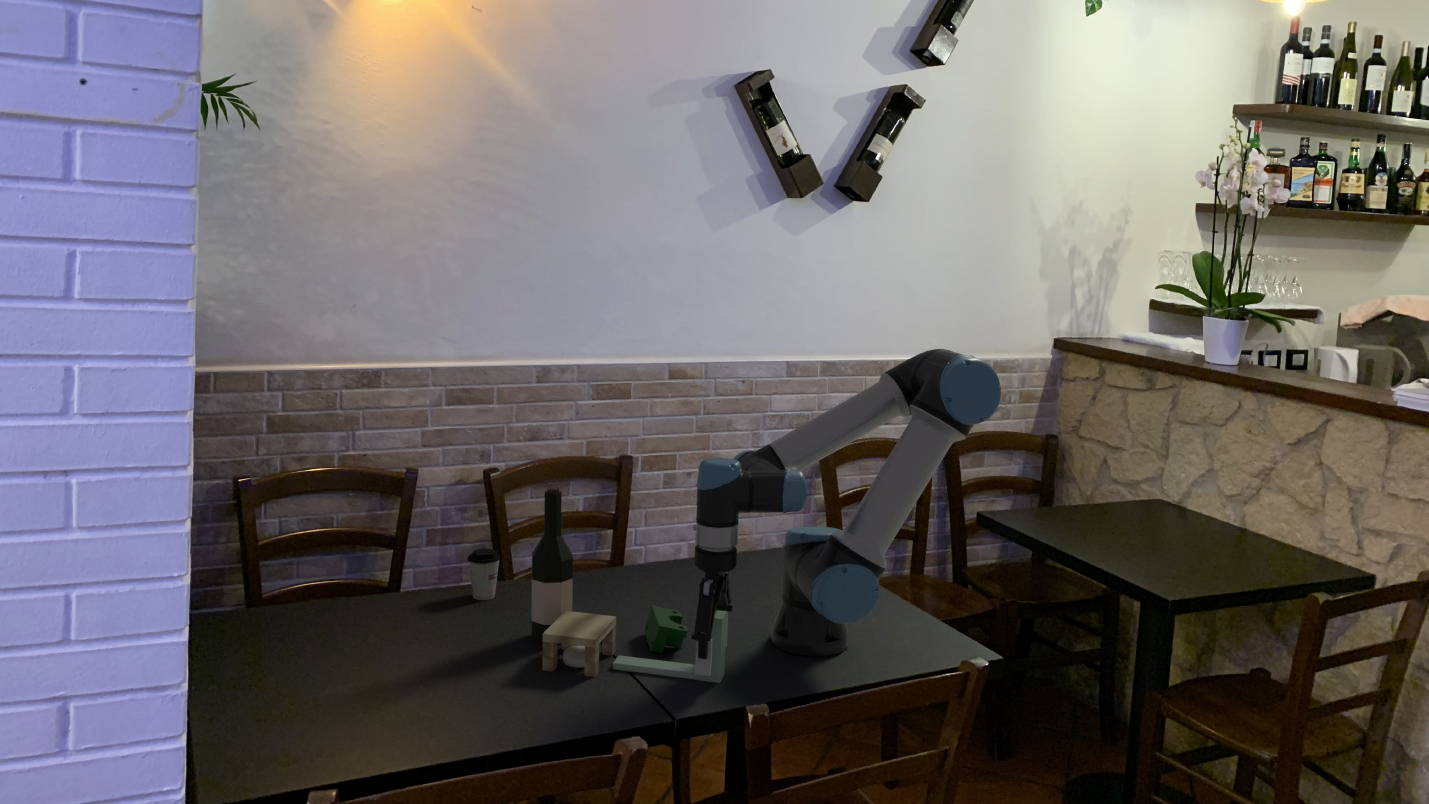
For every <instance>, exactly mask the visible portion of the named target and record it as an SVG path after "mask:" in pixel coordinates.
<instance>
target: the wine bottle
mask: <svg viewBox="0 0 1429 804" xmlns="http://www.w3.org/2000/svg"><path fill="white" fill-rule="evenodd" d="M543 509H544V512H543V513H544V515H543V516H544V517H543V518H544V520H543V522H544V524H543V525H544V526H543V528H544V529H543V530H544V531H543V535H542V537H540V540H539V542H538V543H537V544H536V546H535V548H534V549H533V551H532V553H531V625H530V626H531V634H530V635H531V636H530V637H531V642H532V643H534V644H537V645H541V646H543V633H544V632H545V631H546V630H547V629H548V628H549V627H550V626H551V625H552V624H553V623H554V622H555V621H556V620H557V619H558V618H559V617H560V616H561V615H562V614H563V613H564V612H565V611H572V612H573V587H574V585H573V581H574V580H573V579H574V575H573V574H574V570H573V569H574V566H573V565H574V556H573V551H572V550H571V549H570V547H569V545H568V544H567V542H566V540H565V538H564V537H563V535H562V491H561V490H560V487H557V486H549V487H546V491H544V508H543ZM560 645H561V646H562V644H560V643H557V646H560Z"/></svg>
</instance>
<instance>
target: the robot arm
mask: <svg viewBox="0 0 1429 804" xmlns="http://www.w3.org/2000/svg"><path fill="white" fill-rule="evenodd" d="M1001 398H1002V386H1001V382H1000V378H999V376H998V374H997V372H996V371H995V369H994V368H993V367H992V366H991V365H990V364H988V363H987V362H986V361H984V360H982V359H980V358H977V357H975V356H973V355H970V354H964V353H963V354H962V353H959V352H956V351H952V350H949V349H944V348H934V349H930V350H929V349H928V350H925V351H923V352H920V353H918V354H916V355H914V356H912V357H910V358H908V359H906V360H905V361H902V362H900V363H898V364H897V365H896V366H894V367H892V368H891V369H889V370H886V371H885V372H883V373H882V374H880V377H879V381H878V382H876V383H874V384H873V385H871V386H869V387H867V388H865V389H864V390H862V391H860V392H858V393H857V394H855V395H853V396H851V397H849V398H848V399H845V400H844V401H843V402H840V403H839V404H837V405H835V406H833V407H832V408H830V409H828V410H826V411H825V412H823V413H821V414H819V415H818V416H816V417H815V418H813V419H810V420H809V421H807V422H806V423H803V424H802V425H800V426H798V427H797V428H795V429H793V430H791V431H789V432H788V433H786V434H784V435H782V436H781V437H779V438H777V439H775V440H774V441H772V442H770V443H769V444H766V445H764V446H762V447H760V448H759V449H757V450H756V451H755V450H743V451H741V452H739V453H738V454H736V455H735V456H734V458H728V457H709V458H705V459H703V460H701V462H700V463H699V464H698V465H699V466H698V473H697V480H696V515H695V516H696V517H695V518H696V520H695V521H696V522H695V524H694V525H692V530H693V531H695V539H694V540H695V542H694V543H695V544H696V546H694V557H693V558H694V560H693V561H694V562H693V563H694V566H695V568H696V569H698V570H700V571H703V572H704V573H705V574H704V577H702V579H701V581H700V582H699V586H698V587H699V592H698V602H697V609H696V617H695V625H694V631H693V634H691V639H692V640H694V641H695V664H694V665H695V674H698V675H706V676H710V675H711V663H712V639H711V634H712V629H713V623H714V617H715V612H716V610H720V611H727V618H726V644H725V648H727V647H728V644H727V643H728V622H729V612H731V613H732V612H733V607H734V606H733V605H731V603H732V598H731V584H730V572H731V571H733V570H734V569H735V568H736V567H737V560H738V559H737V558H738V548H737V547H736V546H737V545H738V543H739V518H740V514H744V513H745V514H749V513H750V514H751V513H752V514H754V513H755V514H756V513H758V514H760V513H762V514H763V513H764V514H766V513H771V514H772V513H775V514H776V513H783V514H786V513H792V512H793V513H795V512H800V511H802V510H803V509H804V508H805V505H806V503H807V500H808V499H807V498H808V485H807V479H806V476H805V474H804V473H803V470H806V469H807V468H809V467H810V466H812V465H813V464H815V463H817V462H819V461H820V460H822V459H825V458H826V457H828V456H830V455H832V454H833V453H835V452H837V451H838V450H840V449H842V448H844V447H845V446H848V445H850V444H851V443H853V442H854V441H856V440H858V439H860V438H862V437H863V436H865V435H867V434H869V433H870V432H872V431H874V430H876V429H878V428H880V427H881V426H883V425H884V424H886V423H888V422H890V421H892V420H893V419H895V418H898V417H902V418H908V417H910V416H911V418H910V421H909V422H908V424H907V425H906V427H905V429H904V431H903V432H902V434H901V435H900V436H899V438H898V440H897V441H896V444H895V445H894V446H893V448H892V450H891V452H890V453H889V455H888V457H887V458H886V460H885V462H884V463H883V465H882V466H881V468H880V470H879V471H878V472H877V475H876V476H875V478H874V480H873V481H872V483H871V484H870V486H869V488H868V490H866V492H865V494H864V496H863V498H862V499H861V501H860V503H859V504H858V506H857V507H856V509H855V511H854V513H852V515H851V518H850V519H849V520H848V522H847V524H846V525H845V527H844V528H843V529H839V528H835V527H830V526H829V527H827V526H799V527H793V528H791V529H789V530H788V531H787V532H786V533H785V538H784V544H783V546H782V547H783V569H782V593H781V596H782V597H781V604H780V606H779V609H778V611H777V614H776V616H775V618H774V621H773V623H772V627H771V636H770V637H771V642H772V645H774V646H775V647H776V648H778V649H780V650H782V651H785V652H787V653H790V654H794V655H800V656H807V657H825V656H832V655H836V654H839V653H842V652H843V651H845V650H846V649H847V648H848V646H849V631H848V627H847V625H850V624H852V623H857V622H860V621H862V620H863V619H865V618H866V617H868V616H869V615H870V614H871V613H872V612H873V611H874V609H875V608H876V606H877V605H878V603H879V599H880V594H881V591H880V584H879V580H880V579H881V577H882V575H883V573H884V572H885V570H886V569H887V566H888V565H887V561H886V558H885V554H886V553H887V550H888V549H889V547H890V546H891V544H892V542H893V541H894V539H895V537H896V536H897V534H898V533H899V531H900V529H901V528H902V527H903V525H904V523H905V521H906V520H907V518H909V517H908V516H909V515H910V513H911V512H912V510H913V508H914V506H915V505H916V504H917V502H918V501H919V498H920V497H921V495H922V494H923V492H924V490H925V489H926V487H927V486H928V484H929V483H930V481H931V479H932V477H933V476H934V474H935V473H936V471H937V469H938V468H939V466H940V464H941V462H943V459H944V457H945V456H946V454H947V453H948V451H949V449H950V448H951V446H952V445H953V444H954V443H955V442H959V441H963V440H965V439H966V438H967V437H968V435H969V433H970V432H971V430H972V429H973V427H974V426H975V425H979V424H981V423H984V422H986V421H988V420H989V419H990V418H991V417H992V416H994V414H995V412H996V411H997V409H998V407H999V405H1000V401H1001ZM704 633H705V634H704Z"/></svg>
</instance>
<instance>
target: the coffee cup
mask: <svg viewBox="0 0 1429 804" xmlns="http://www.w3.org/2000/svg"><path fill="white" fill-rule="evenodd" d="M500 556H501V555H500V554H499V553H498V552H497V550H495V549H492V548H485V547H484V548H477V549H474V550H473V551H472V552H471V553H470V554H468V556H467V558H466V559H467V562H468V568H469V576H470V577H469V578H470V583H471V590H472V598H473V599H475V600H476V601H487V600H489V601H490V600H492V599H494V598H495V597H496V596H495V595H496V590H497V589H496V588H497V581H498V573H499V565H500V560H501V557H500Z"/></svg>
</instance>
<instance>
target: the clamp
mask: <svg viewBox="0 0 1429 804" xmlns="http://www.w3.org/2000/svg"><path fill="white" fill-rule="evenodd" d="M648 612H649V613H648V617H647V619H646V624H645V626H644V635H645V639H646V642H647V645H648V647H649V650H650V652H655V653H660V654H662V653H663V652H664V649H665V647H669V648H675V649H682V645H683V642H684V638H687V637H688V636H687V635H688V632H689V628H688V626H687V625H686V624H682V621H683V618H684V617H683V614H682V612H680V611H679V610H675V609H673V608H672V609H671V608H666V607H662V606H657V605H654V604H651V605H650V609H649V611H648Z"/></svg>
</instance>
